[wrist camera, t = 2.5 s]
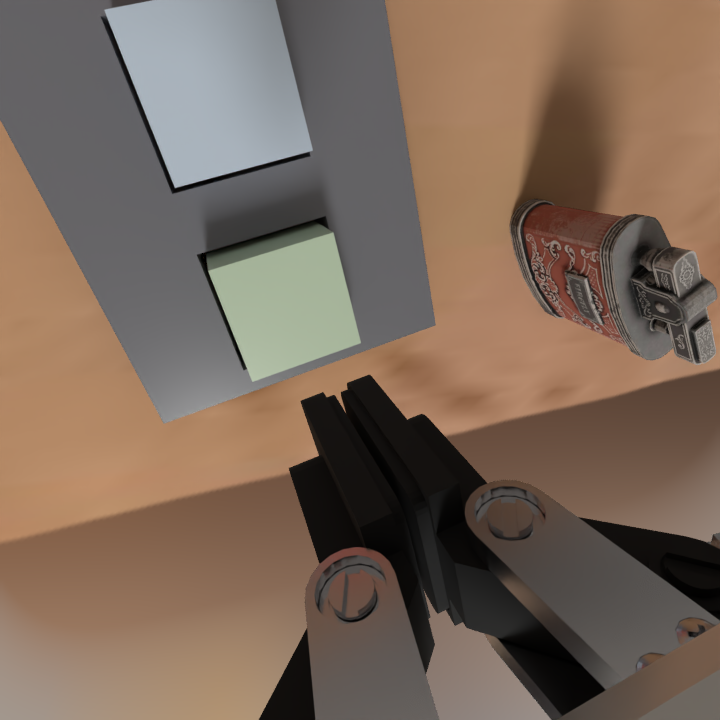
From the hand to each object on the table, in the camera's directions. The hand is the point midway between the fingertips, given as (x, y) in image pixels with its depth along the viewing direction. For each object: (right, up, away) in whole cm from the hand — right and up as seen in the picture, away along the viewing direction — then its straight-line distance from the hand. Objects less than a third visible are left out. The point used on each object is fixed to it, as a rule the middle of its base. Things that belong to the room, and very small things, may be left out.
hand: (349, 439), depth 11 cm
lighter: (+11, +8, +17) cm, 22 cm away
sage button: (-4, +5, +11) cm, 13 cm away
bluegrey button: (-5, +12, +7) cm, 15 cm away
